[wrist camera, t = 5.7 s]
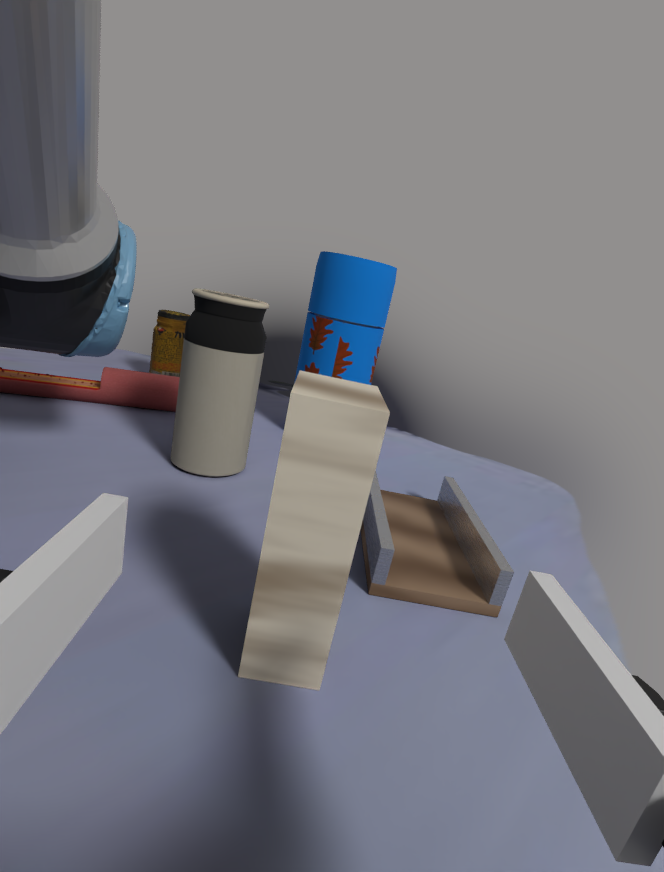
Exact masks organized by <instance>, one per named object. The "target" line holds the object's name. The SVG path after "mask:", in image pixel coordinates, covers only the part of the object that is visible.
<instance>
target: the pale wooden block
mask: <svg viewBox="0 0 664 872" xmlns="http://www.w3.org/2000/svg"><path fill="white" fill-rule="evenodd" d="M389 414H390V412H389V410H388V408H387V406H386V404H385V402H384V399H383V397H382V395H381V393H380V391H379V389H378V387H377V386H373V385H368V384H363V383H358V382H353V381H349V380H344V379H339V378H334V377H329V376H325V375H320V374H315V373H310V372H305V371H299V374H298V376H297V379H296V381H295V384H294V386H293V389H292V391H291V395H290V400H289V406H288V411H287V416H286V422H285V427H284V432H283V438H282V443H281V448H280V454H279V459H278V465H277V470H276V475H275V481H274V486H273V491H272V497H271V502H270V507H269V513H268V518H267V524H266V529H265V534H264V540H263V545H262V550H261V556H260V561H259V566H258V572H257V577H256V583H255V588H254V593H253V599H252V604H251V609H250V615H249V620H248V625H247V631H246V636H245V642H244V647H243V652H242V658H241V663H240V668H239V674H238V677H241V678H247V679H253V680H259V681H265V682H271V683H277V684H283V685H289V686H295V687H302V688H308V689H314V690H320V686H321V682H322V678H323V674H324V671H325V667H326V663H327V659H328V655H329V651H330V647H331V643H332V639H333V635H334V631H335V627H336V623H337V619H338V615H339V611H340V608H341V604H342V600H343V596H344V592H345V588H346V584H347V580H348V576H349V572H350V568H351V564H352V560H353V556H354V552H355V548H356V544H357V541H358V537H359V533H360V529H361V525H362V521H363V517H364V513H365V509H366V505H367V501H368V497H369V493H370V489H371V485H372V481H373V477H374V474H375V470H376V466H377V462H378V458H379V454H380V450H381V446H382V442H383V438H384V434H385V430H386V426H387V422H388V418H389Z"/></svg>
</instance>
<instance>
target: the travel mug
mask: <svg viewBox="0 0 664 872" xmlns="http://www.w3.org/2000/svg"><path fill="white" fill-rule="evenodd" d="M192 293H193V294H194V298H195V310H194V312H193V313H192V314H191V316H190V317H189V319H188V320H187V321H186V326H185V335H184V343H183V352H182V361H181V370H180V379H179V388H178V396H177V405H176V414H175V423H174V432H173V441H172V449H171V461H172V462H173V464H175V465H176V466H177V467H179V468H181V469H183V470H184V471H186V472H189V473H192V474H196V475H201V476H208V477H222V476H229V475H233V474H236V473H239V472H241V471H242V470H243V469H244V468H245V465H246V459H247V453H248V447H249V441H250V434H251V428H252V422H253V416H254V410H255V404H256V398H257V392H258V386H259V380H260V374H261V368H262V362H263V355H264V349H265V343H266V334H265V332H264V328H263V325H262V320H263V317H264V314H265V311H266V309H268V308H269V304H267V303H265V302H262V301H258V300H255V299H251V298H246V297H242V296H237V295H232V294H228V293H222V292H217V291H211V290H205V289H193V290H192Z"/></svg>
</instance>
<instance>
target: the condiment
mask: <svg viewBox="0 0 664 872" xmlns="http://www.w3.org/2000/svg"><path fill="white" fill-rule="evenodd" d="M189 317H190V315H188V314H184V313H180V312H175V311H169V310H159V312H158V319H157V325H156V326H155V328H154V332H153V343H152V352H151V361H150V373H153V374H160V375H167V376H175V377H180V370H181V361H182V352H183V343H184V335H185V326H186V321H187V320H188V319H189Z"/></svg>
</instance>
